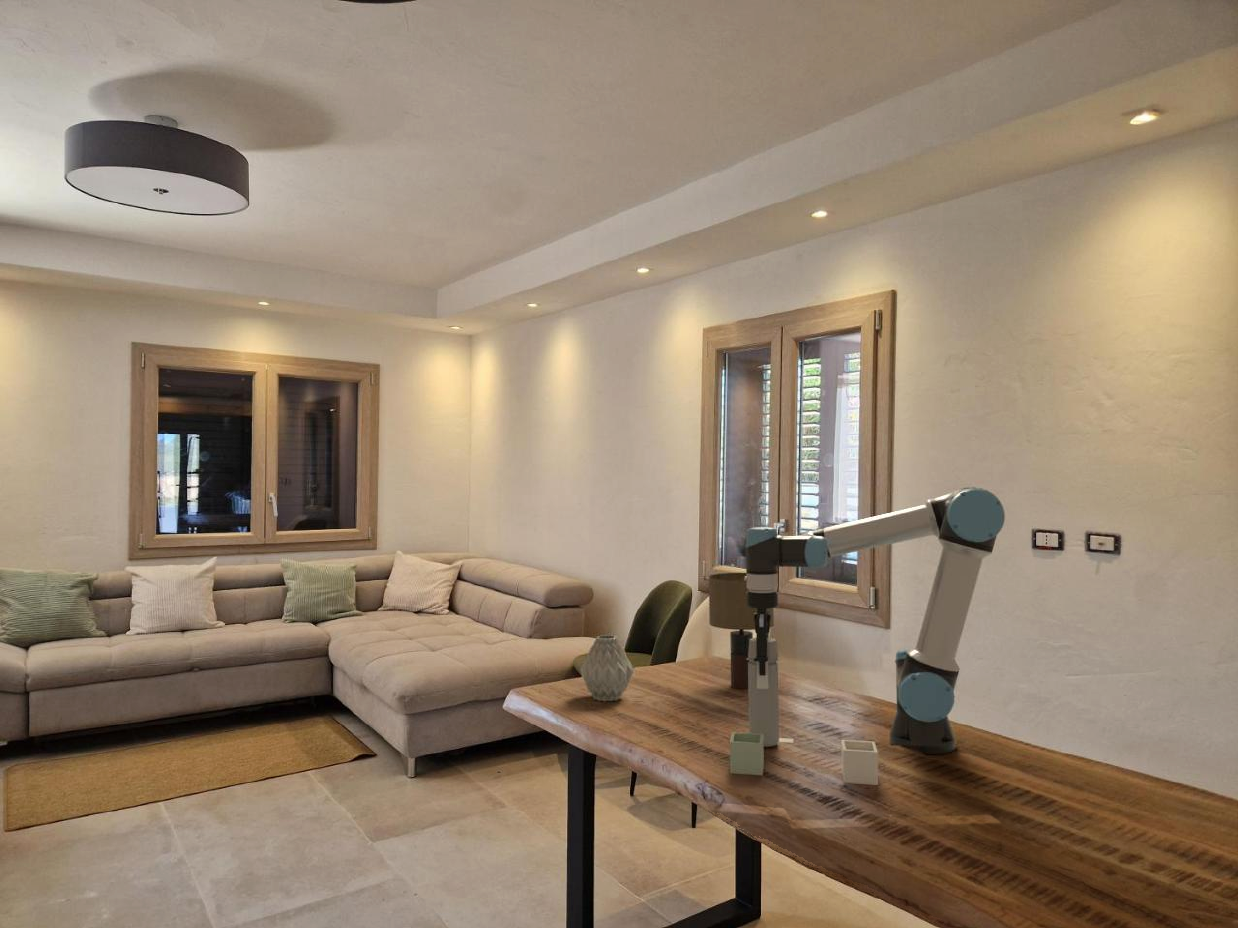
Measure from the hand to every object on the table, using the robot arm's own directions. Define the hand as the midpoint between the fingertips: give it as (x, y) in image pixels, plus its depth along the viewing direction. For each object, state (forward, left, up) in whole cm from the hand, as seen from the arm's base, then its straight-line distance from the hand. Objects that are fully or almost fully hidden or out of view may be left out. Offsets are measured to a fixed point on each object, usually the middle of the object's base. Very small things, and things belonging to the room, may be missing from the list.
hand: (763, 683), depth 196 cm
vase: (+48, -37, -16) cm, 63 cm away
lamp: (+9, -58, -16) cm, 61 cm away
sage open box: (+3, +18, -16) cm, 24 cm away
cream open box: (-21, +19, -16) cm, 32 cm away
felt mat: (0, 0, -16) cm, 16 cm away
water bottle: (0, 0, -14) cm, 14 cm away
